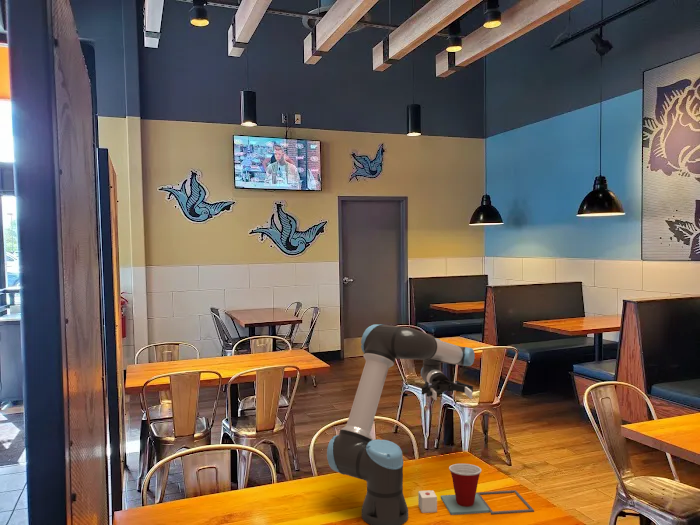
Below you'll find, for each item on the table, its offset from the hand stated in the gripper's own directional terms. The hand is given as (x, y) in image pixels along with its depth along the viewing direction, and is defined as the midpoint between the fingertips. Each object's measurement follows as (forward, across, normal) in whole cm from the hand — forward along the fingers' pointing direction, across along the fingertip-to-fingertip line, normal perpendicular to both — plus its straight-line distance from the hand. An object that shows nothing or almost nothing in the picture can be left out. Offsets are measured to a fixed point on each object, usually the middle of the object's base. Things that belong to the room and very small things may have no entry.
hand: (453, 395), depth 202 cm
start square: (+19, -12, -32) cm, 39 cm away
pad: (+19, +2, -32) cm, 37 cm away
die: (+20, +15, -32) cm, 40 cm away
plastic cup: (+19, +2, -31) cm, 37 cm away
